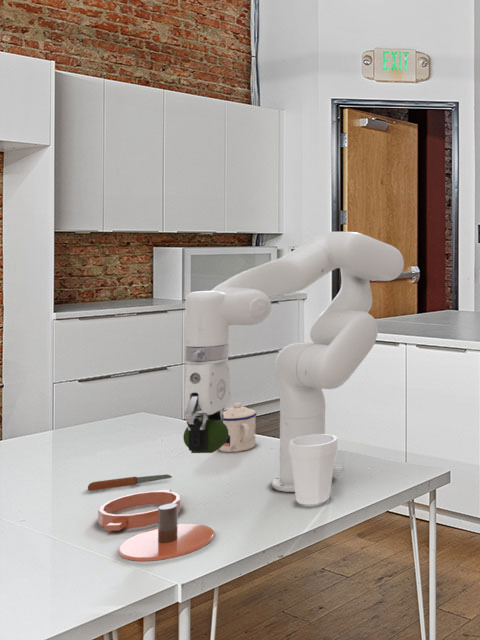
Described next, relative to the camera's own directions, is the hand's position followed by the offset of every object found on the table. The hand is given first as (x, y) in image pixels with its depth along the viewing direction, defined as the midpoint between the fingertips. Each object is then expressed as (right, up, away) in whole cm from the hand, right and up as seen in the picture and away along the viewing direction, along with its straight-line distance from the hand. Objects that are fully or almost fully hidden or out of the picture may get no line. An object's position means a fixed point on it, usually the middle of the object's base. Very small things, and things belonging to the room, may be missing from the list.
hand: (206, 444), depth 145 cm
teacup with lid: (-17, -14, +47) cm, 52 cm away
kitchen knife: (-26, -15, +18) cm, 35 cm away
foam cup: (+17, -15, +9) cm, 25 cm away
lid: (0, -14, -13) cm, 19 cm away
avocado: (0, -1, 0) cm, 1 cm away
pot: (-13, -15, 0) cm, 20 cm away
